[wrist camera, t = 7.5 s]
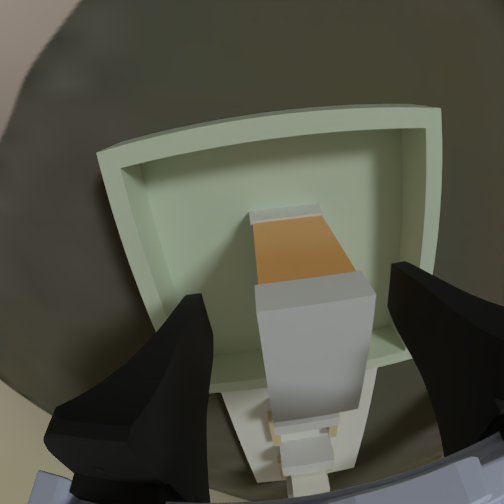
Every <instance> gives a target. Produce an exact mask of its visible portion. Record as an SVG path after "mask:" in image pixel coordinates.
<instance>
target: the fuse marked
mask: <svg viewBox="0 0 504 504" xmlns="http://www.w3.org/2000/svg"><path fill="white" fill-rule="evenodd" d="M249 217H250V226H251V234H252V241H253V248H254V255H255V263H256V270H257V277H258V285H254V286H255V300H256V313H257V320H258V326H259V333H260V340H261V346H262V353H263V359H264V366H265V372H266V379H267V386H268V392H269V399H270V405H271V412H272V418H273V423H275V422H283V421H291V420H298V419H305V418H311V417H317V416H323V415H329V414H334V413H340V412H345V411H349V410H354V409H358V407H359V402H360V397H361V392H362V387H363V382H364V377H365V371H366V365H367V359H368V353H369V347H370V340H371V334H372V326H373V319H374V311H375V302H376V293H375V292H374V290H373V288H372V287H371V285H370V283H369V282H368V280H367V278H366V277H365V275H364V274H363V272H362V270H361V271H356V270H355V268H354V266H353V265H352V263H351V261H350V260H349V258H348V256H347V255H346V253H345V252H344V250H343V248H342V247H341V245H340V243H339V242H338V240H337V239H336V237H335V235H334V234H333V232H332V231H331V229H330V228H329V226H328V224H327V223H326V221H325V220H324V212H323V211H322V209H321V208H320V206H319V205H318V203H316V204H307V205H298V206H289V207H281V208H272V209H264V210H256V211H249Z"/></svg>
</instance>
